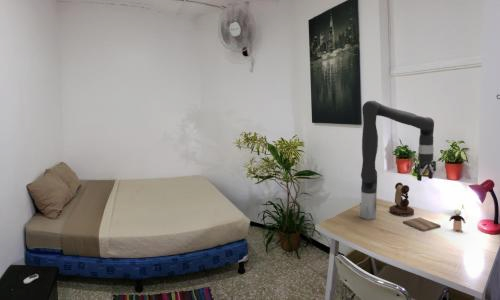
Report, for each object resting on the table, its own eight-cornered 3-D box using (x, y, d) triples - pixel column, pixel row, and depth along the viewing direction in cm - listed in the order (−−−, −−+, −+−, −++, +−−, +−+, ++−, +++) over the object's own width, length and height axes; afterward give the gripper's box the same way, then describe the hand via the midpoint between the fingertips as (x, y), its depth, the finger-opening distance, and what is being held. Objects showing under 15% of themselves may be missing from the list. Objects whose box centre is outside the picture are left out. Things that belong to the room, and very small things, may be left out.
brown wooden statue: (384, 209, 205) (385, 181, 202) (404, 208, 207) (405, 180, 204) (397, 217, 191) (398, 187, 188) (419, 215, 192) (420, 185, 189)
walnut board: (422, 231, 169) (423, 229, 169) (402, 223, 182) (402, 221, 182) (440, 227, 174) (440, 225, 174) (419, 219, 187) (419, 217, 187)
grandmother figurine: (463, 229, 170) (464, 208, 168) (465, 232, 166) (467, 211, 164) (447, 228, 172) (448, 207, 170) (449, 231, 169) (450, 210, 167)
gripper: (428, 150, 177) (427, 176, 179) (410, 152, 172) (410, 179, 175) (440, 151, 170) (439, 179, 172) (422, 154, 165) (421, 182, 168)
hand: (424, 179), depth 173 cm, fingers open, 8 cm apart
